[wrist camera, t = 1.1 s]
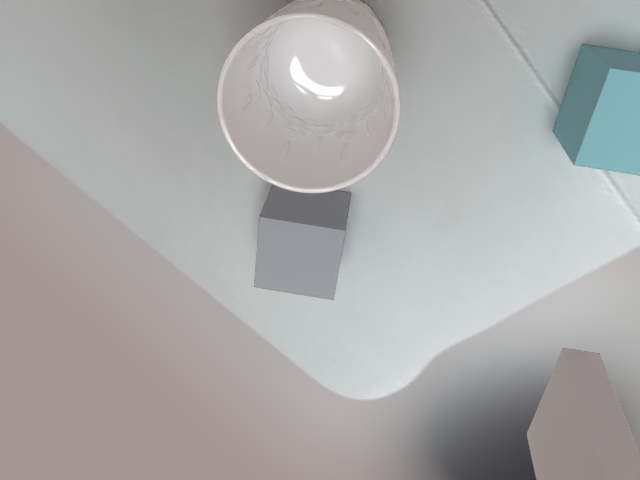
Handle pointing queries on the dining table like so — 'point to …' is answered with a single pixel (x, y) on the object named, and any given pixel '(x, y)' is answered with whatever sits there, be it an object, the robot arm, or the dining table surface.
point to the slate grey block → (301, 242)
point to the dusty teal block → (602, 111)
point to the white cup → (311, 96)
